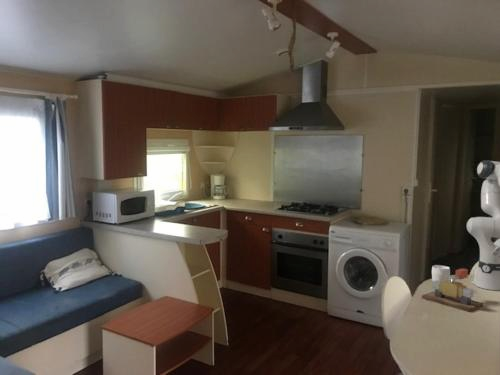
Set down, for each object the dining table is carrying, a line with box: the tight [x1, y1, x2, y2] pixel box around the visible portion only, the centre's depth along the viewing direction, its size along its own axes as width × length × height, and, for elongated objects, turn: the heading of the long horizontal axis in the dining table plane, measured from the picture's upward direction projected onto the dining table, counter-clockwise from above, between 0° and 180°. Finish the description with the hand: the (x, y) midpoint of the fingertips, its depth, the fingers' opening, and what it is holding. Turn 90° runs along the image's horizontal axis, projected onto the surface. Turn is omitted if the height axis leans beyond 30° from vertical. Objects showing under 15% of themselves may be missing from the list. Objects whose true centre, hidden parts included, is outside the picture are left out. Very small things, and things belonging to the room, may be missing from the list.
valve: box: [432, 279, 474, 305], centre depth 198 cm, size 6×18×8 cm, turn 38°
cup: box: [431, 264, 451, 282], centre depth 220 cm, size 9×9×12 cm
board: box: [421, 290, 484, 313], centre depth 199 cm, size 14×23×2 cm, turn 38°
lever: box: [450, 268, 469, 283], centre depth 201 cm, size 13×3×5 cm, turn 128°
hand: (496, 256), depth 196 cm, fingers open, 6 cm apart
